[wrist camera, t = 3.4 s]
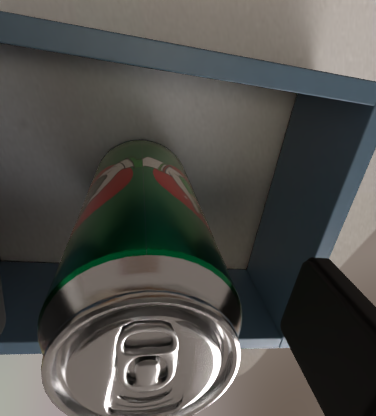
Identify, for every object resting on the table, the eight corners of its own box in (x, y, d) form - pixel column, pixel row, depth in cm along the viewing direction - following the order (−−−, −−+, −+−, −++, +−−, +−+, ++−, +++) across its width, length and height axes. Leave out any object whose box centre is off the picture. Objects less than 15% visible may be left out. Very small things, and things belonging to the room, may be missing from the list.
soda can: (99, 219, 18) (39, 454, 7) (93, 135, 16) (-6, 289, 5) (181, 219, 19) (240, 427, 8) (187, 139, 16) (277, 277, 6)
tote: (-12, 271, 18) (-75, 356, 13) (-53, 13, 13) (-195, -26, 7) (253, 278, 22) (291, 348, 16) (314, 79, 16) (402, 86, 11)
